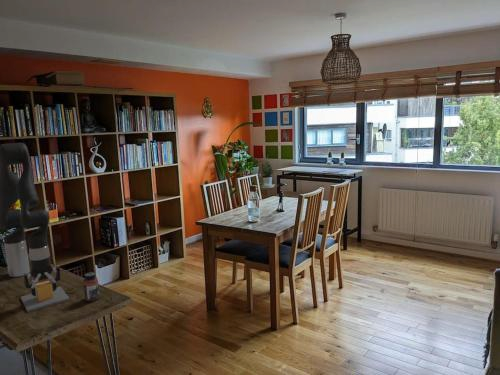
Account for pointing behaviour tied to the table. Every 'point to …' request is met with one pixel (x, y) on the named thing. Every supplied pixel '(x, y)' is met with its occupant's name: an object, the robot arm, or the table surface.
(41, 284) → the mustard foam cube
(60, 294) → the thin gray plate
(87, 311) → the table surface
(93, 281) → the supplement bottle
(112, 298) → the table surface
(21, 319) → the table surface
